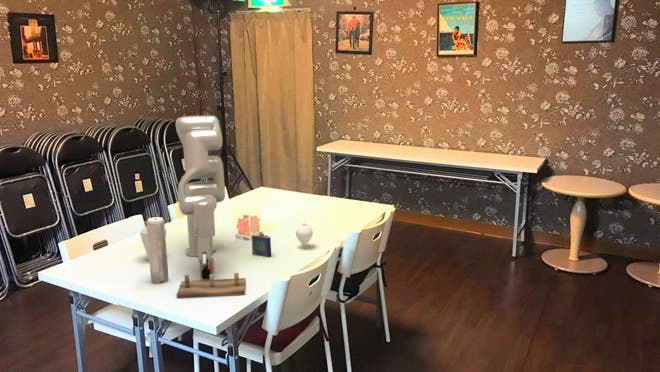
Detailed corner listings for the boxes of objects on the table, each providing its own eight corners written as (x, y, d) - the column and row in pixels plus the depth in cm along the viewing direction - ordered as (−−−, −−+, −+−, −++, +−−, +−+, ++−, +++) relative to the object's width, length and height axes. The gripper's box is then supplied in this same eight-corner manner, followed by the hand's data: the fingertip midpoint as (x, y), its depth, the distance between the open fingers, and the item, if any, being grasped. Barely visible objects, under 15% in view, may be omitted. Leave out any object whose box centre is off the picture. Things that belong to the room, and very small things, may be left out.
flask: (251, 254, 241) (250, 231, 238) (254, 252, 243) (254, 229, 241) (269, 258, 237) (268, 234, 234) (272, 255, 239) (272, 232, 237)
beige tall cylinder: (170, 277, 217) (166, 216, 211) (166, 283, 210) (161, 221, 205) (153, 277, 217) (148, 216, 211) (149, 284, 210) (143, 221, 204)
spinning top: (314, 245, 252) (313, 220, 249) (311, 251, 245) (311, 225, 242) (297, 244, 253) (296, 219, 250) (294, 250, 245) (294, 224, 243)
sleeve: (201, 275, 219) (200, 258, 217) (215, 274, 219) (214, 257, 218) (199, 280, 214) (198, 263, 212) (213, 279, 214) (212, 262, 212)
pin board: (181, 284, 210) (180, 269, 208) (245, 281, 212) (245, 267, 211) (176, 298, 198) (175, 282, 197) (244, 295, 201) (243, 279, 199)
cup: (160, 265, 229) (158, 234, 226) (137, 263, 231) (135, 232, 228) (172, 256, 239) (170, 226, 236) (150, 254, 241) (148, 224, 238)
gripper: (197, 224, 220) (200, 267, 224) (192, 239, 203) (194, 284, 207) (216, 224, 221) (219, 266, 225) (212, 238, 204) (215, 283, 208)
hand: (207, 274), depth 216 cm, fingers open, 6 cm apart
